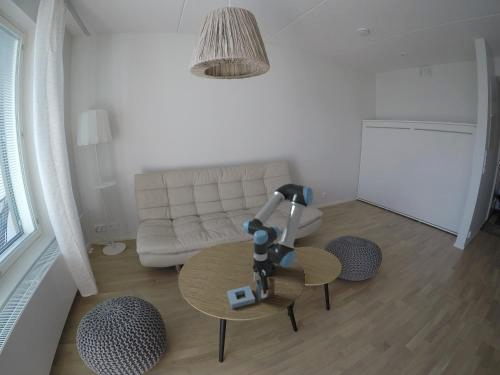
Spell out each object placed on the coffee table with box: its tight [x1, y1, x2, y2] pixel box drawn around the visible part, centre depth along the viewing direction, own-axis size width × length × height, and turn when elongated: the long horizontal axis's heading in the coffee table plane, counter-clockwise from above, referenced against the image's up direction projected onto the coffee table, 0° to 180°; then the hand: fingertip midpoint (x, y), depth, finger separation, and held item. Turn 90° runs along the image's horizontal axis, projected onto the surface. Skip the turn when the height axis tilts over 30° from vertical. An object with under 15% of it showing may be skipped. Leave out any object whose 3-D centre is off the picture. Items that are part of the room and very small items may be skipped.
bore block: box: [226, 285, 256, 310], centre depth 141 cm, size 14×11×3 cm
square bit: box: [255, 279, 266, 303], centre depth 139 cm, size 4×4×12 cm
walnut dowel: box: [267, 276, 276, 299], centre depth 141 cm, size 4×4×12 cm
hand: (259, 289), depth 139 cm, fingers open, 13 cm apart
